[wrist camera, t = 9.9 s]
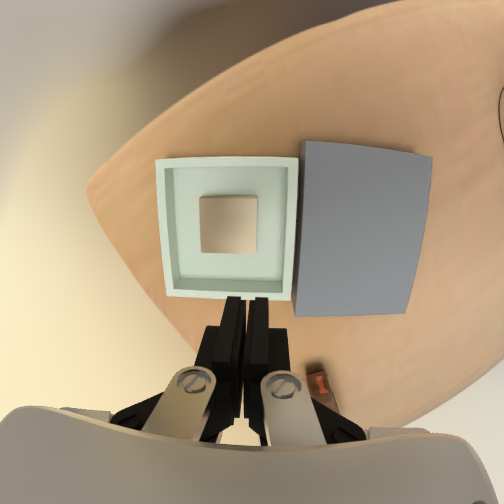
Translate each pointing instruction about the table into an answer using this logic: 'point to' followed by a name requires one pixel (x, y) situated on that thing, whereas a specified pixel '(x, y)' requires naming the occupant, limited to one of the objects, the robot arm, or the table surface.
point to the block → (228, 224)
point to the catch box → (224, 264)
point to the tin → (321, 390)
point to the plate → (358, 229)
